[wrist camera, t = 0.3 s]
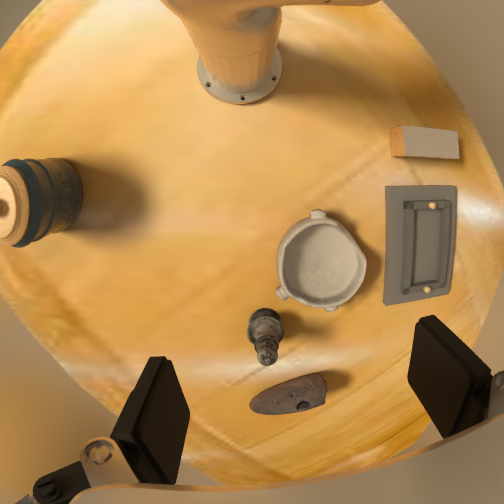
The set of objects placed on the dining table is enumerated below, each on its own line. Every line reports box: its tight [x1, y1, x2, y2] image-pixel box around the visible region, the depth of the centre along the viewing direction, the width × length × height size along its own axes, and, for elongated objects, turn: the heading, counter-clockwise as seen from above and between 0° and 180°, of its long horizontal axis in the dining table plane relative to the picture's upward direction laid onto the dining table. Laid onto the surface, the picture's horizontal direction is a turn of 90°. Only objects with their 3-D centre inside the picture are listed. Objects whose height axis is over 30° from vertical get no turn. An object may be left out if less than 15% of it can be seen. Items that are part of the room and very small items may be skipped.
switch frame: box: [383, 185, 456, 306], centre depth 44 cm, size 20×14×4 cm
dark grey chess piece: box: [247, 308, 284, 366], centre depth 44 cm, size 6×6×12 cm
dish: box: [276, 209, 367, 312], centre depth 44 cm, size 14×14×5 cm
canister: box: [0, 158, 83, 248], centre depth 35 cm, size 13×13×18 cm
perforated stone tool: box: [249, 373, 328, 415], centre depth 50 cm, size 15×5×7 cm, turn 108°
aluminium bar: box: [389, 125, 459, 159], centre depth 39 cm, size 4×11×5 cm, turn 95°
